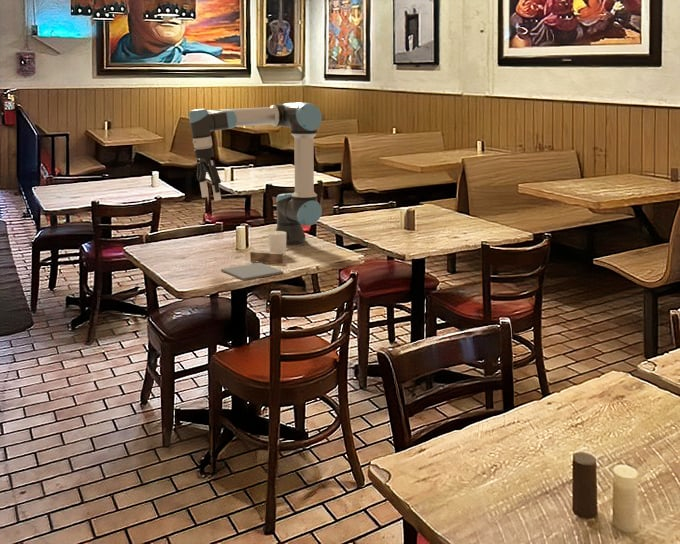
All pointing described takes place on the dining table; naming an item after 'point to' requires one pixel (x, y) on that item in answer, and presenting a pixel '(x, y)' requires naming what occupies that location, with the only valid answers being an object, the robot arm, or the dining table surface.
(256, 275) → the grey mat
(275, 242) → the white cup
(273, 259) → the walnut rail
